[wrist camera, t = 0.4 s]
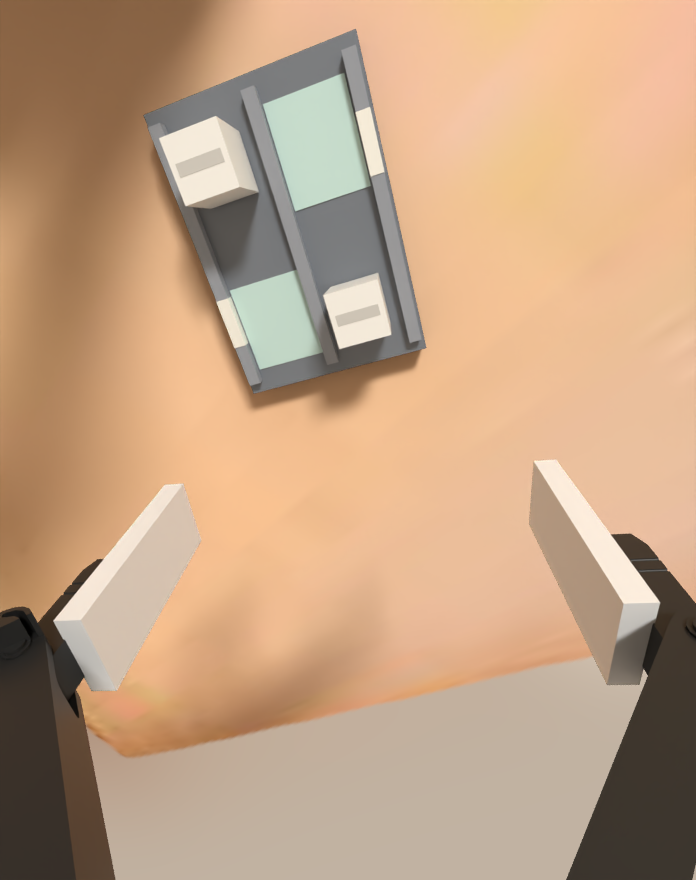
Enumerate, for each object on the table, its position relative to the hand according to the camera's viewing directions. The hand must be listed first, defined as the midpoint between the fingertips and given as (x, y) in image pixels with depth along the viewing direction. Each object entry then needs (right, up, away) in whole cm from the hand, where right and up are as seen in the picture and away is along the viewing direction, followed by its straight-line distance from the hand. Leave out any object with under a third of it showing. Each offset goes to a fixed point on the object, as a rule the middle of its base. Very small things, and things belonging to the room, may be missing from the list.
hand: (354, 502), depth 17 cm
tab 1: (-9, +22, +16) cm, 29 cm away
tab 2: (+1, +14, +20) cm, 24 cm away
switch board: (-4, +19, +20) cm, 28 cm away
